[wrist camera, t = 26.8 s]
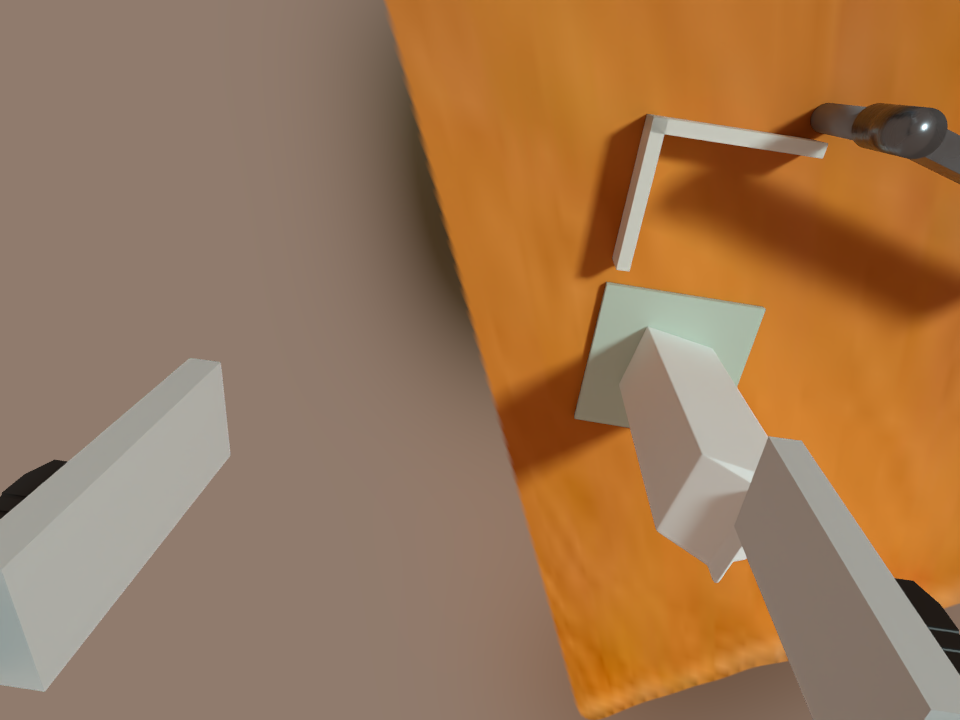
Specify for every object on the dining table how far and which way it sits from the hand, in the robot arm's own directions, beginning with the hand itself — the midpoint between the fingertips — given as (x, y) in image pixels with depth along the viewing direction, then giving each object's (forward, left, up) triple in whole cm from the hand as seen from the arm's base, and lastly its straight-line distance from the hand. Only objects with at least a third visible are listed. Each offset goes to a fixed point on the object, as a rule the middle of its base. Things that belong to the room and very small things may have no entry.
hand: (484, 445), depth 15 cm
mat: (+13, +15, -36) cm, 41 cm away
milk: (+13, +15, -36) cm, 41 cm away
